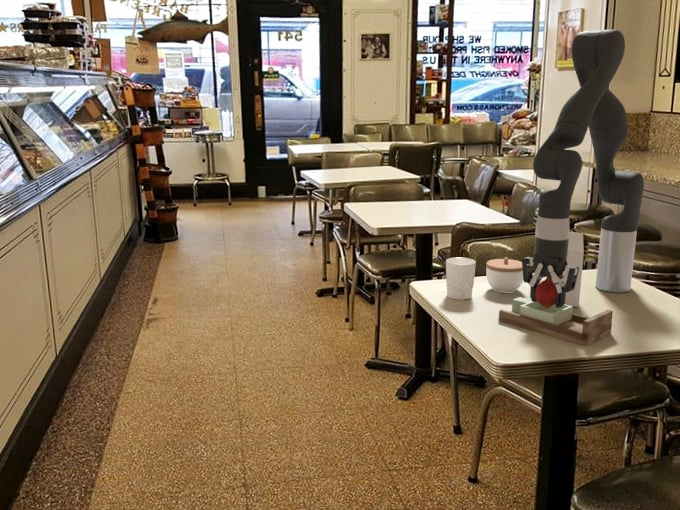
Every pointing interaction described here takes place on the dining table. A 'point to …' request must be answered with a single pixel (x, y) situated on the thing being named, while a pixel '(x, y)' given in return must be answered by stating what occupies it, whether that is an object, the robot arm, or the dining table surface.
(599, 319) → the rail
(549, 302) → the onion
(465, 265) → the white cup
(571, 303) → the milk carton
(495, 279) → the lidded jar
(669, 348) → the dining table surface
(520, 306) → the sled
